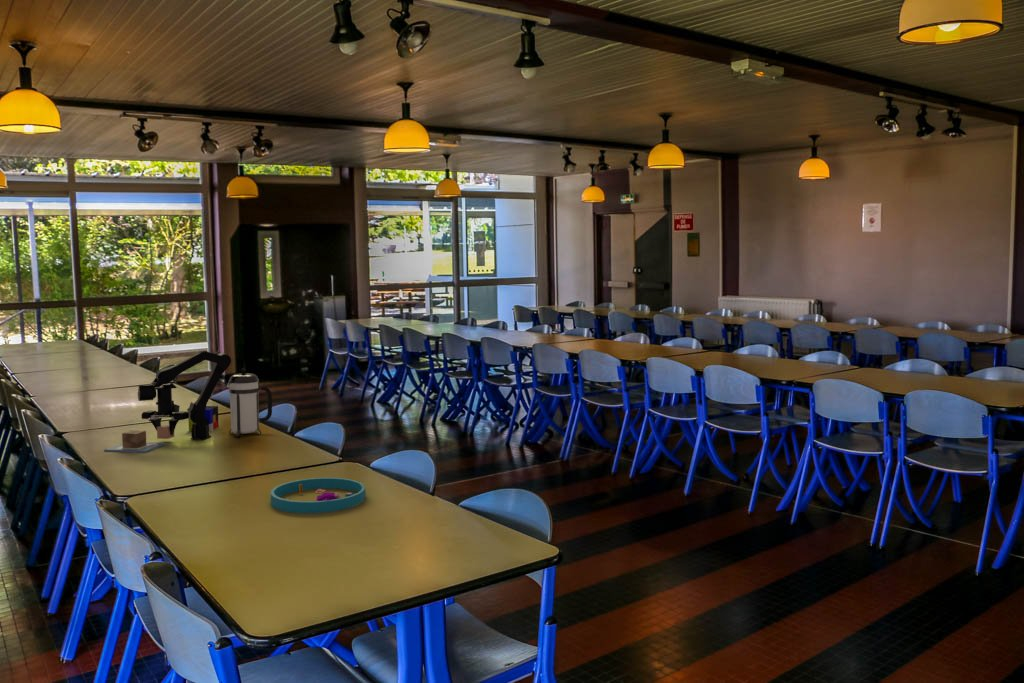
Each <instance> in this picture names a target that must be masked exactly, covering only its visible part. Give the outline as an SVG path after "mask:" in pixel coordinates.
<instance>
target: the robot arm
mask: <svg viewBox="0 0 1024 683" xmlns="http://www.w3.org/2000/svg"><path fill="white" fill-rule="evenodd" d="M204 361H208V362H212V368H211V371H210V374H209V376H208V378H207V380H206V382H205V384H204V385H203V388H202V389H201V392H200V394H199V396H198V398H197V399H196V401H194V402H193V401H191V402H190V404H189V407H188V408H187V409H186V411H183V410H182V411H181V410H180V405H179V404H176V403H175V401H174V400H173V393H172V392H173V391H172V389H177V386H176V385H175V384H174V383H173V382H172V381H173V380H175V379H176V378H177V377H179V375H180V374H182V373H183V372H185V371H187V370H189V369H191V368H193V367H195V366H196V365H198V364H200V363H202V362H204ZM231 364H232V358H231V356H230V355H228V354H226V353H223V352H221V353H214V352H209V351H208V350H207V351H206V350H199V351H198V352H197V353H195V354H193V355H192V356H191V355H190V357H188V358H186V359H184V360H181V361H180V362H178V363H177V364H174V365H172V366H167V367H165V368H162V369H159V370H158V371H156V375H155V378H154V379H153V380H152V382H151V383H150V384H138V391H137V398H138V402H145V401H154V399H155V398H157V401H156V402H155V406H157V410H145V411H142V413H141V420H148V421H149V422H150V423H151V424H152V425H153V427H154V429H155V431H157V427H158V426H161V425H162V419H163V418H170V419H169V420H168V425H169V428H170V434H171V435H173V433H174V434H175V430H176V427H177V424H178V423H179V422H180V421H184V420H187V419H188V418H189V419H190V420H192V422H193V423H194V424H193V425H192V428H191V431H190V432H191V437H190V440H207V439H209V438H211V437H212V435H210V431H209V420H208V419H207V418H206V417H204V415H205V411H206V406H208V402H209V399H210V398H211V396H212V394H213V393H214V390H215V388H216V386H217V384H218V383H219V380H220V379H221V377H222V375H223V374H224V373H225V371H227V369H228V368H229V367H230V365H231Z"/></svg>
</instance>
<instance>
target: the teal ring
mask: <svg viewBox="0 0 1024 683" xmlns="http://www.w3.org/2000/svg"><path fill="white" fill-rule="evenodd" d="M336 488H341V489H340V490H346V489H348V490H347V491H346V492H345V493H344V494H345V495H344V497H341V494H340V492H338V491H335V492H330V491H327V490H326V489H336ZM313 489H316V490H315V492H314V493H315V494H318V496H317V497H316V500H313V501H312V500H310V501H306V500H304V501H303V500H292V499H291V498H288V497H286V498H282V496H284V495H288V494H291V493H294V492H295V493H296V492H298V491H299V496H302V495H304V491H306V490H313ZM366 489H367V488H366V486H365V484H364V483H363V482H360V481H359V480H358V481H357V480H354V479H349V478H343V477H311V478H304V479H297V480H292V481H288V482H284V483H282V484H279V485H277V486H275V487H273V488H272V489H271V490H270V505H271V506H272V508H274V509H276V510H279V511H282V512H287V513H288V512H289V513H295V514H296V513H297V514H318V513H319V514H321V513H322V514H323V513H332V512H337V510H338V511H343V510H347V509H350V508H349V507H351V508H353V507H352V506H354V507H356V506H358V505H357V504H359V503H360V504H361V502H362V501H363V500H364V499H365V500H366V498H365V497H366ZM351 490H353V491H352V492H348V491H351ZM354 491H356V492H355V493H353V492H354ZM357 492H358V493H357ZM365 500H364V501H365ZM364 501H363V502H364ZM363 502H362V503H363ZM360 504H359V505H360ZM355 505H356V506H355ZM346 508H347V509H346ZM342 509H343V510H342Z"/></svg>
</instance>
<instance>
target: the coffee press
mask: <svg viewBox="0 0 1024 683" xmlns="http://www.w3.org/2000/svg"><path fill="white" fill-rule="evenodd" d="M240 372H241V373H236V374H232V375H231V376H230V377H229V380H228V383H227V385H226V388H228V389H229V392H228V393H229V404H230V405H229V406H230V409H229V410H230V430H229V431H228V434H229V435H232V434H236V435H235V436H236V438H241V436H242V435H243V434H252V433H255V434H256V435H257V436H259V435H258V434H260V435H262V434H263V432H262V431H261V429H260V423H262V422H267V421H269V419H270V418H271V417H272V414H273V396H272V392H271V390H270V389H269V387H267V386H259V382H260V379H259V378H258V375H256V374H254V373H249V372H247V369H246V368H245V367H243V368H241V370H240ZM246 372H247V373H246ZM259 391H264V392H265V393H266V395H267V413H266V415H265V416H264V417H259V416H260V415H259V409H260V407H259V406H260V405H259Z"/></svg>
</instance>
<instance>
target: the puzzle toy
mask: <svg viewBox="0 0 1024 683" xmlns="http://www.w3.org/2000/svg"><path fill="white" fill-rule="evenodd" d="M204 417H206V418H207V419H208V420H209V432H211V431H213V429H214V430H215V428H216V429H218V428H219V426H220V425H219V424H220V423H219V406H218V405H206V411H205V415H204ZM187 419H188V432H191V428H192V425H193V424H194V423H193V422H192V420H190V419H189V418H187ZM217 427H218V428H217Z"/></svg>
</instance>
